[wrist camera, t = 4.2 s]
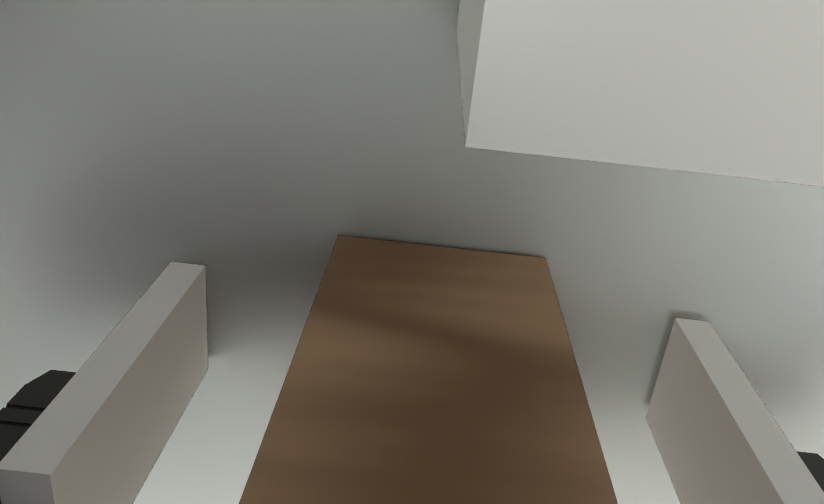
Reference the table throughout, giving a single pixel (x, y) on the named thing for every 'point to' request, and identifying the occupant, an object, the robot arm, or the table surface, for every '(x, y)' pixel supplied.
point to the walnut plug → (431, 387)
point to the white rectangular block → (649, 83)
